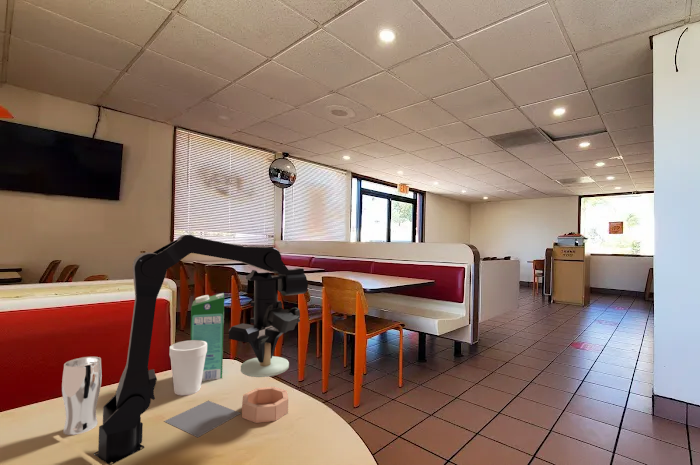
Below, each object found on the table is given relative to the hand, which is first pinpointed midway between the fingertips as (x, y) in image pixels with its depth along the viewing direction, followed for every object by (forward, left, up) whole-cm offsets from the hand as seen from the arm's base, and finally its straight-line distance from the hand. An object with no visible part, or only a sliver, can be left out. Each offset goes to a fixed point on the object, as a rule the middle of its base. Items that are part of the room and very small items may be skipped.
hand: (265, 360), depth 86 cm
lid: (0, 0, -2) cm, 2 cm away
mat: (-10, +10, -13) cm, 19 cm away
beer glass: (-27, +29, -13) cm, 41 cm away
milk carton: (+7, +31, -13) cm, 34 cm away
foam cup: (-3, +26, -13) cm, 29 cm away
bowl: (0, 0, -13) cm, 13 cm away
